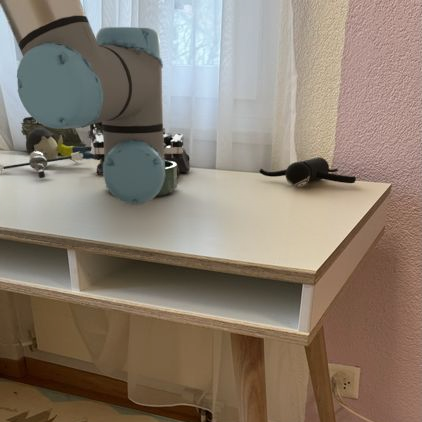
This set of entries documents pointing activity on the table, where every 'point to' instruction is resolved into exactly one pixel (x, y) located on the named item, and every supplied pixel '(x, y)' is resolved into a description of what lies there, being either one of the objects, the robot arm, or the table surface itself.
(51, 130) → the toy tank
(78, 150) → the toy
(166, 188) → the bowl
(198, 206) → the table surface
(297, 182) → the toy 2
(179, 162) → the computer mouse
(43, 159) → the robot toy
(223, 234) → the table surface
